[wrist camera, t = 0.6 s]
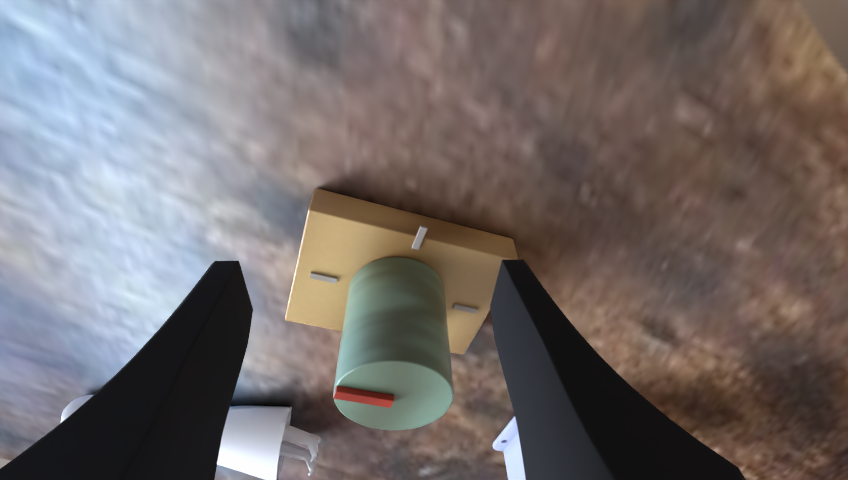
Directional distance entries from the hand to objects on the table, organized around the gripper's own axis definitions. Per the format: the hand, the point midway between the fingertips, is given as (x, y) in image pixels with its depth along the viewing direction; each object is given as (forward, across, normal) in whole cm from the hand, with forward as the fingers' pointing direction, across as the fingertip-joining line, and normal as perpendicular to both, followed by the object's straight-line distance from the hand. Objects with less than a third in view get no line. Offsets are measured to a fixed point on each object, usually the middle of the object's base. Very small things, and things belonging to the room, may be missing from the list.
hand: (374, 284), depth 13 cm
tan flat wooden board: (+10, -1, +10) cm, 14 cm away
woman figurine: (+9, +13, +24) cm, 29 cm away
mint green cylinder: (+8, -1, +9) cm, 12 cm away
